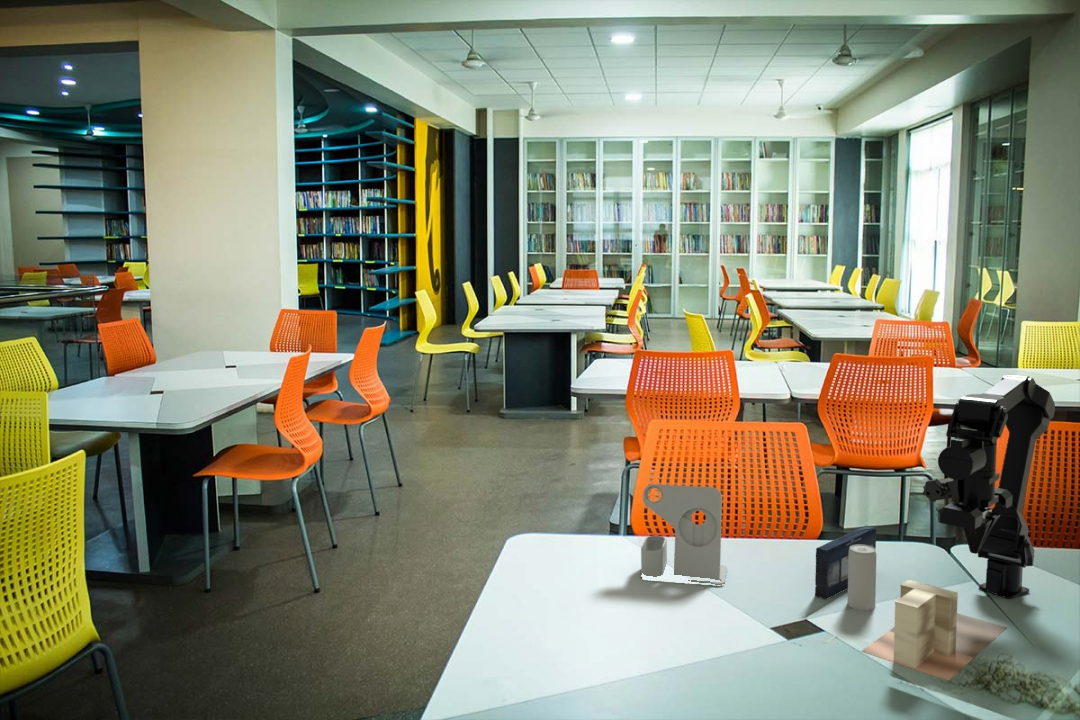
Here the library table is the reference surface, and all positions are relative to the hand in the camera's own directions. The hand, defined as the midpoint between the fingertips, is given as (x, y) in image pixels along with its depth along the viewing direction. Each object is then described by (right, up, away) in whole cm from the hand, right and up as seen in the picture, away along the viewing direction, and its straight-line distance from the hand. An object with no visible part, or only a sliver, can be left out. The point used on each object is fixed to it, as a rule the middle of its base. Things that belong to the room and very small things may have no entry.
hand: (974, 552), depth 156 cm
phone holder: (-48, -10, +25) cm, 55 cm away
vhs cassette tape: (-17, -11, +17) cm, 26 cm away
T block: (-16, -13, -14) cm, 25 cm away
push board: (-11, -14, -9) cm, 20 cm away
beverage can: (-18, -12, +5) cm, 23 cm away
